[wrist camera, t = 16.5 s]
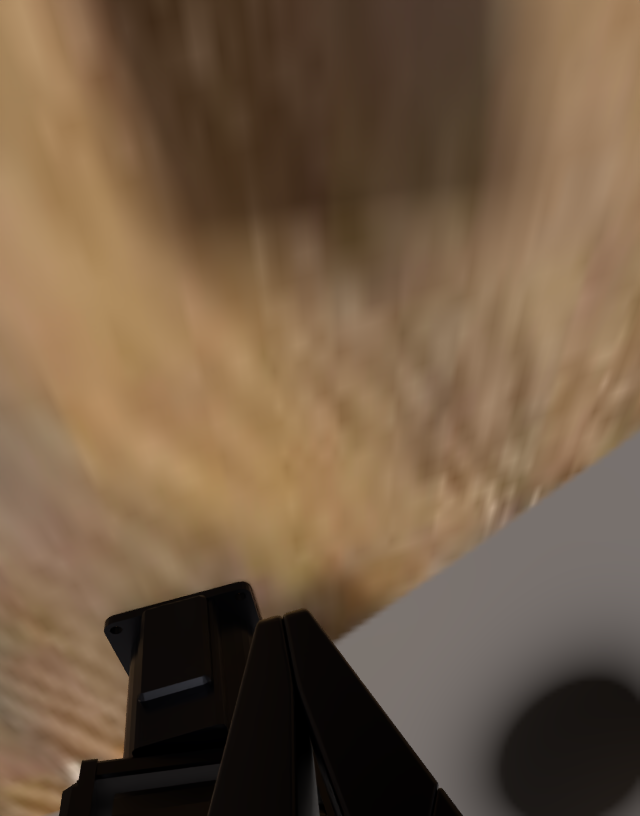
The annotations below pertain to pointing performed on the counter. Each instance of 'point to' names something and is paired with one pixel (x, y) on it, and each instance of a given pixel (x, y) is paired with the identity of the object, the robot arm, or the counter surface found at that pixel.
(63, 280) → the counter surface
